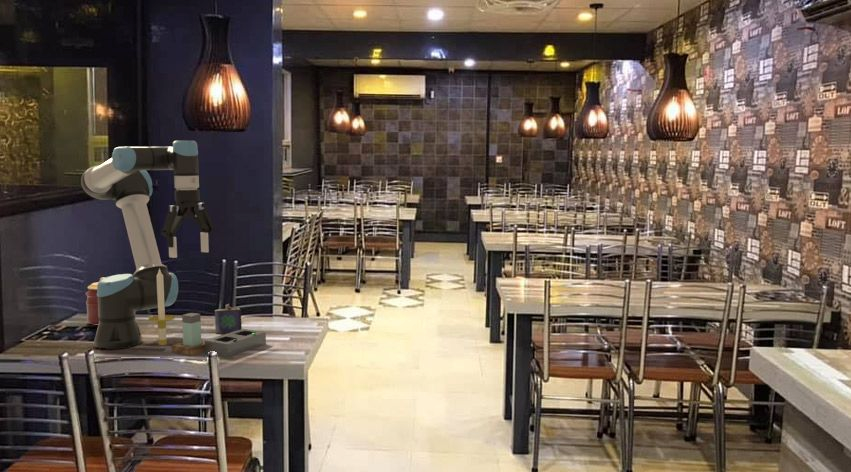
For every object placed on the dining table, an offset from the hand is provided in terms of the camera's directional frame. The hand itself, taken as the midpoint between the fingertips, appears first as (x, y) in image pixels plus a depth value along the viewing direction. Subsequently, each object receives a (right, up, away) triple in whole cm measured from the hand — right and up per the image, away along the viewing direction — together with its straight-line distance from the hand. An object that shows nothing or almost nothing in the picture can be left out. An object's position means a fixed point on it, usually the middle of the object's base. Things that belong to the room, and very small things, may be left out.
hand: (189, 254), depth 239 cm
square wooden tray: (0, -32, +4) cm, 33 cm away
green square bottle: (0, -31, +4) cm, 32 cm away
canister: (-47, -28, +47) cm, 72 cm away
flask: (+5, -30, +29) cm, 42 cm away
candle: (-13, -32, +12) cm, 36 cm away
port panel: (+14, -32, +6) cm, 35 cm away
